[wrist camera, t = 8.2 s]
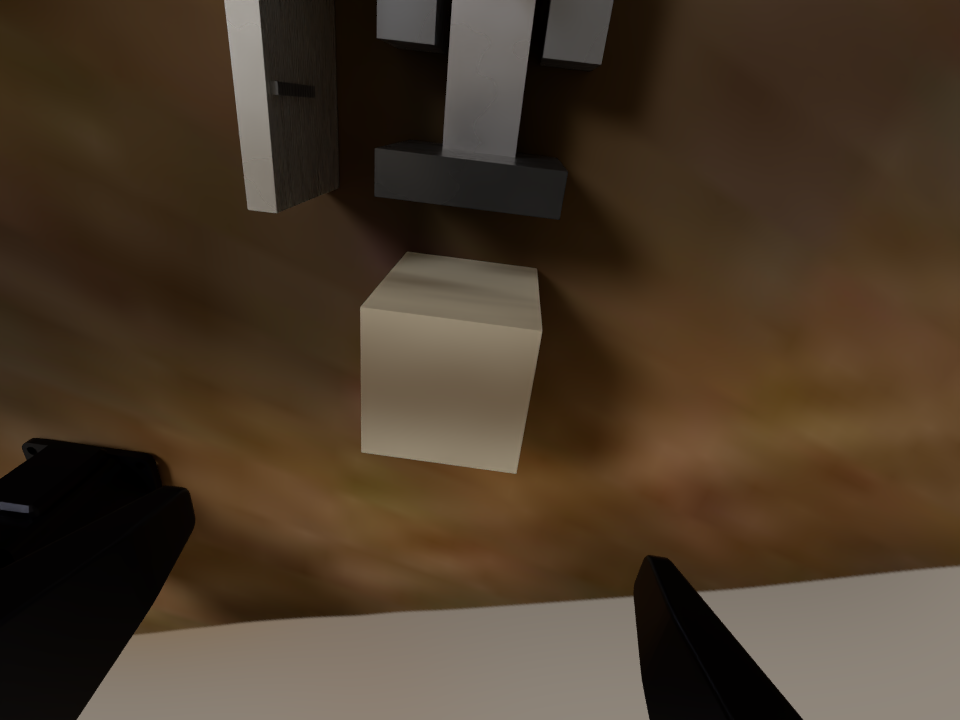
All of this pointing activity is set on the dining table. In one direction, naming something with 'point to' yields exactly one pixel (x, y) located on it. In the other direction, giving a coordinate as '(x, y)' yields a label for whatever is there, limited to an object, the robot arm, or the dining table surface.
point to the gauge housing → (313, 88)
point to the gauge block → (449, 361)
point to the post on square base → (479, 124)
